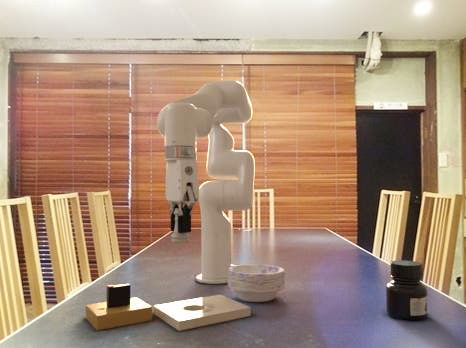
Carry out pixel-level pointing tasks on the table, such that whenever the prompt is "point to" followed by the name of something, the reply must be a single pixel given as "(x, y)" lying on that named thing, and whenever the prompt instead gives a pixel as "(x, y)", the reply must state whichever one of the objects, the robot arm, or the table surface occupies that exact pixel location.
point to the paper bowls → (256, 281)
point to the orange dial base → (118, 314)
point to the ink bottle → (406, 291)
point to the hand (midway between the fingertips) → (180, 231)
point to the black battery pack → (118, 295)
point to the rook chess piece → (177, 236)
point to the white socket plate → (200, 311)
